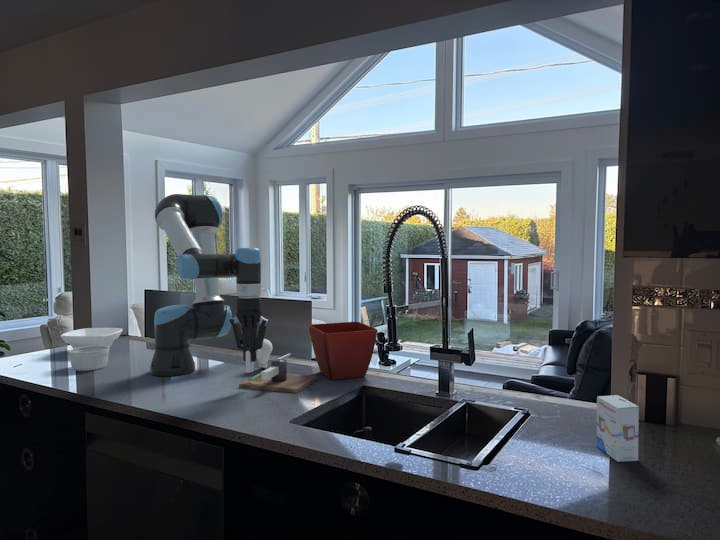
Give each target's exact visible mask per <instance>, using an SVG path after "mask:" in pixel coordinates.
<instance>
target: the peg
mask: <svg viewBox="0 0 720 540" xmlns="http://www.w3.org/2000/svg"><path fill="white" fill-rule="evenodd" d="M291 355H292V353H287V354H285V355H283V356H280V357H278V358H275V359H272V360H270V367H267V369H266V368H265V369H263V370H262V371H261V372H262V380H268V379H270V378H271V380H273V381H283V380H286V379H287V374H288V373H287V371H288V370H287V369H288V367H287V366H288V363H287V362H288V361H287V359H286V358H289V357H291Z"/></svg>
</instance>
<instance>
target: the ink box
mask: <svg viewBox="0 0 720 540" xmlns="http://www.w3.org/2000/svg"><path fill="white" fill-rule="evenodd" d="M639 408H640V407H639V405H637V404H635V403H633V402H631V401H629V400H628V399H626V398H624V397H622V396H621V395H618V394H615V395H597V397H596V447H597V448H598V449H600V450H601V451H602V452H604V453H605V454H607V456H609V457H611V458H612V460H613V459H614V460H615V461H616V462H621V463H622V462H637V461H639V428H640V427H639V417H640V415H639V414H640V413H639V412H640V409H639Z"/></svg>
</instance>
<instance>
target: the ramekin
mask: <svg viewBox="0 0 720 540" xmlns="http://www.w3.org/2000/svg"><path fill="white" fill-rule="evenodd" d="M109 352H110V348H109V347H108V346H86V347H79V348H75V349H73V348H72V349H70V350H69V351H68V355H69V360H70V365H71V368H72V370H74V371H77V372H89V371H96V370H100V369H103V368H106V366H107V365H108V363H109V362H108V361H109Z"/></svg>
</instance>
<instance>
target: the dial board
mask: <svg viewBox="0 0 720 540" xmlns="http://www.w3.org/2000/svg"><path fill="white" fill-rule="evenodd" d="M317 377H318V376H317V375H309V374H308V375H307V374H294V373H287V379H286V380H283V381H273V380H271V378H270V379H268V380H262V371H261V372H260V373H258V374H256V375H254V376H252V377H250V378H248V379H246V380H244V381H242V382H240V383H239V384H238V388H243V389H250V390H251V389H252V390H253V389H254V390H262V391H263V390H265V391H272V392H284V393H295V394H298V393H299V392H301V391H302V390H303V389H305V388H307V387H308V386H310V385H311V384H312V383H314V382H315V381H317V379H318V378H317Z"/></svg>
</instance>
